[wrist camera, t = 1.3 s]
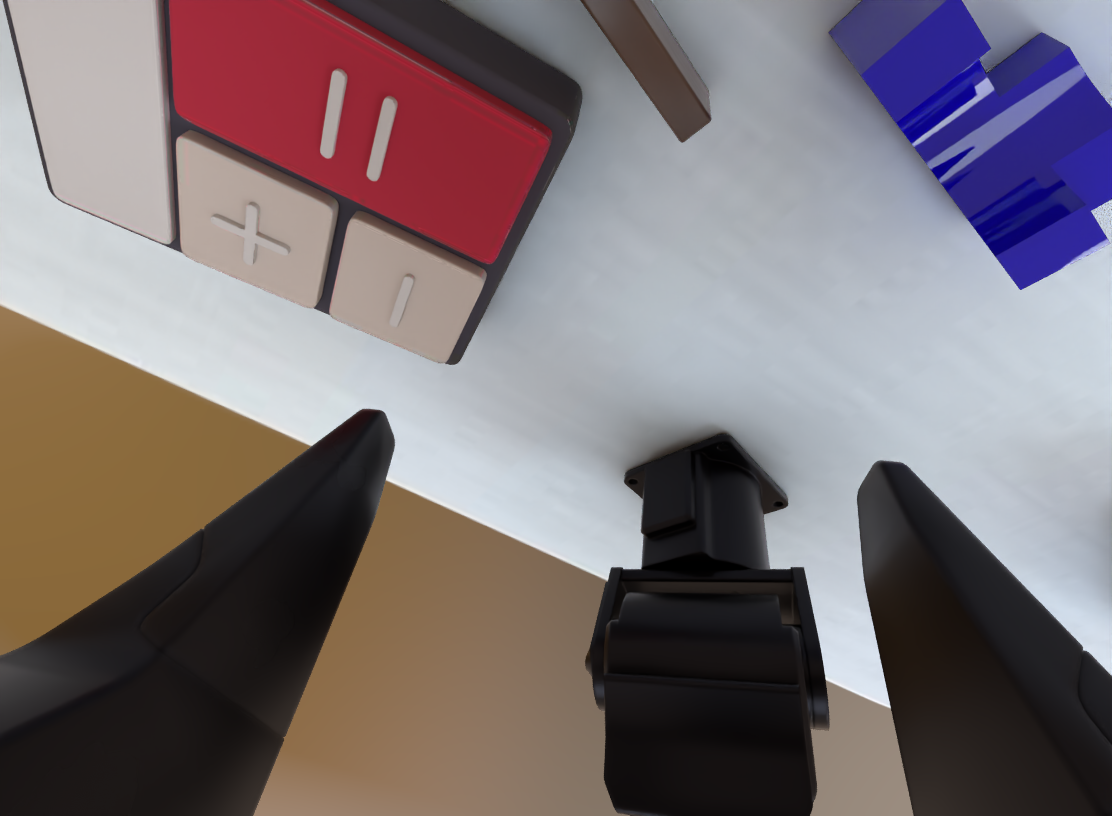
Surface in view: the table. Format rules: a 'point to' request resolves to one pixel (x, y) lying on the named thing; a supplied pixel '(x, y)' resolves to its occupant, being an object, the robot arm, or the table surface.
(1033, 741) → the robot arm
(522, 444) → the table surface
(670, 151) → the table surface
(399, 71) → the calculator
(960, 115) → the cable holder
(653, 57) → the square wooden border
